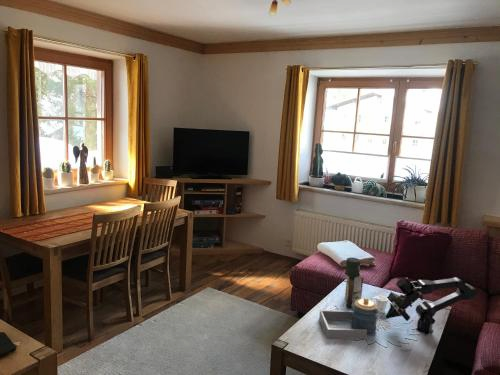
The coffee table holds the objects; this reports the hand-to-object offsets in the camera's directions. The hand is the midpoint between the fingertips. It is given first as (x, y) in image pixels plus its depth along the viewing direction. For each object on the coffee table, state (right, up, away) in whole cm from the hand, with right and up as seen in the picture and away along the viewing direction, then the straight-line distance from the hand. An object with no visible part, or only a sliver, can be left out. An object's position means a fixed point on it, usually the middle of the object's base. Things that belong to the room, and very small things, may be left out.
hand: (385, 317), depth 213 cm
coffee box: (-9, 0, +35) cm, 36 cm away
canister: (-12, -6, +1) cm, 14 cm away
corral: (-24, -6, 0) cm, 24 cm away
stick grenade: (-14, -2, +24) cm, 28 cm away
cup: (+3, -3, +23) cm, 23 cm away
